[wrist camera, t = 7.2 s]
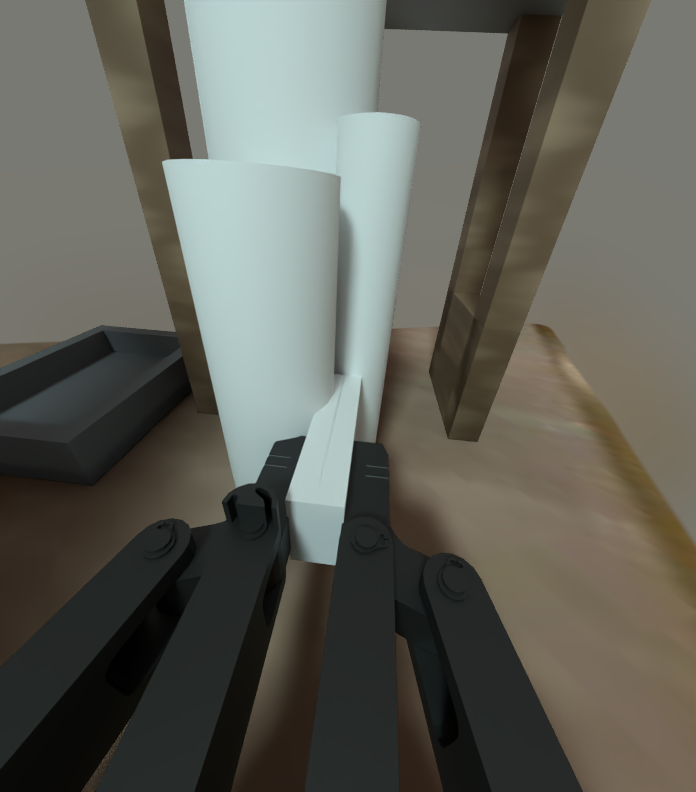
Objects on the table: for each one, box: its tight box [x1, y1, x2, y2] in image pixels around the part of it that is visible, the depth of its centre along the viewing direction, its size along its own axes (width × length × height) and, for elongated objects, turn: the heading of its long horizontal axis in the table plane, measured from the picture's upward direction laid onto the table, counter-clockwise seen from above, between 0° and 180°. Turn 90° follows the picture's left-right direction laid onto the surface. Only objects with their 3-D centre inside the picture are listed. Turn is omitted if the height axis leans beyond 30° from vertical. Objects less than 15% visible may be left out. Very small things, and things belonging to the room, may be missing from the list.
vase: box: [162, 0, 421, 488], centre depth 13 cm, size 11×7×20 cm, turn 11°
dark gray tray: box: [0, 325, 192, 485], centre depth 21 cm, size 10×14×3 cm
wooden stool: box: [85, 0, 651, 442], centre depth 19 cm, size 20×10×24 cm, turn 84°
